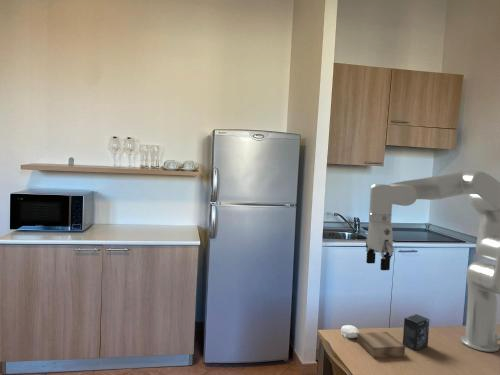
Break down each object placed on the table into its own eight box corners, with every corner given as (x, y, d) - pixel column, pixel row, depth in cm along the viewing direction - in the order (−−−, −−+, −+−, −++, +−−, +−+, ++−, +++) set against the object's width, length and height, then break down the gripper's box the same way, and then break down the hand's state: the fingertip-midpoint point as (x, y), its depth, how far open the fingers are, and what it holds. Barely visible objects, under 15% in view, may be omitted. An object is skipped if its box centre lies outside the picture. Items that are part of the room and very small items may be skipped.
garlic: (363, 340, 145) (363, 330, 145) (347, 341, 144) (347, 331, 144) (353, 331, 153) (353, 322, 153) (338, 332, 152) (338, 323, 152)
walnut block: (386, 342, 145) (386, 331, 145) (404, 357, 133) (405, 346, 133) (357, 343, 143) (357, 333, 143) (373, 359, 131) (373, 347, 131)
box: (416, 351, 137) (417, 322, 137) (402, 345, 142) (403, 317, 142) (428, 346, 142) (430, 318, 141) (414, 340, 146) (416, 313, 146)
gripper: (403, 222, 127) (401, 272, 128) (377, 216, 144) (374, 260, 145) (383, 222, 126) (380, 273, 126) (358, 215, 142) (356, 260, 143)
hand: (377, 266), depth 135 cm, fingers open, 9 cm apart
